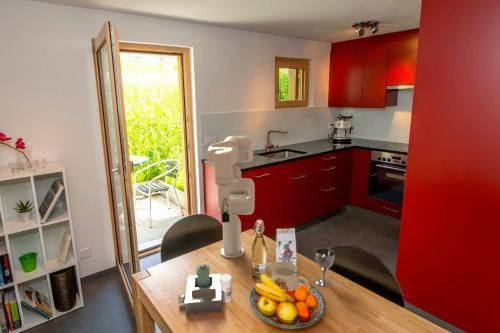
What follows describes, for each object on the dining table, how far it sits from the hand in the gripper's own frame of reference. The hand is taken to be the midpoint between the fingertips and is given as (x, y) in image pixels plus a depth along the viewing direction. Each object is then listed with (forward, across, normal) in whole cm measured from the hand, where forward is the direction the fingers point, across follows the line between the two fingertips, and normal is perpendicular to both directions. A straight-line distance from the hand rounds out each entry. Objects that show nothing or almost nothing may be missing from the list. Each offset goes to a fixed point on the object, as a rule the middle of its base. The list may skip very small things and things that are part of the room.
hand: (225, 217), depth 135 cm
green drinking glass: (+25, +12, -10) cm, 30 cm away
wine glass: (+31, +8, +43) cm, 53 cm away
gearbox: (+30, +12, -11) cm, 35 cm away
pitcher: (+31, +16, +24) cm, 42 cm away
